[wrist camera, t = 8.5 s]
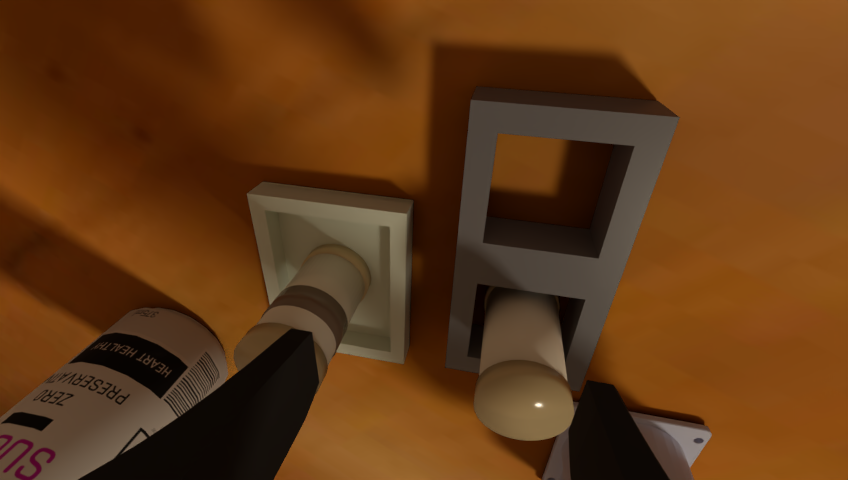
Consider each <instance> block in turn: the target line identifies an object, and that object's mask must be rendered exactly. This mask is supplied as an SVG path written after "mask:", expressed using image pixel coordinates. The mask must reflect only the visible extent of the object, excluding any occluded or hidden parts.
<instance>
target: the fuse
mask: <svg viewBox="0 0 848 480" xmlns="http://www.w3.org/2000/svg"><path fill="white" fill-rule="evenodd" d="M484 308H485V321H484V331H483V341H482V351H481V361H480V371H479V377H478V379H477V382H476V387H475V396H474V410H475V413H476V415H477V417H478V418H479V419H480V421H481V422H482V423H483V424H484V425H485V426H486V427H488V428H489V429H491V430H492V431H494V432H496V433H498V434H500V435H502V436H505V437H508V438H512V439H517V440H525V441H536V440H544V439H548V438H552V437H554V436H557V435H559V434H561V433H562V432H564V431H565V430H566V429H567V428H568V427H569V426H570V424H571V422H572V419H573V417H574V406H573V399H572V392H571V388H570V385H569V384H568V381H567V374H566V366H565V358H564V350H563V343H562V335H561V327H560V320H559V310H560V304H559V296H558V295H551V294H544V293H537V292H531V291H524V290H517V289H510V288H504V287H497V286H490V285H488V286H487V288H486V292H485V301H484Z"/></svg>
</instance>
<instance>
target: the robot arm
mask: <svg viewBox="0 0 848 480" xmlns="http://www.w3.org/2000/svg"><path fill="white" fill-rule="evenodd" d="M318 385H319V376H318V369H317V362H316V355H315V348H314V341H313V334H312V332H310V331H304V330H298V329H293V328H291V329H290V330H288V331H287V332H286V333H285V334H283V335H282V336H281V337H280V338H279V339H277V340H276V341H275V342H274V343H273V344H271V345H270V346H269V347H268V348H267V349H265V350H264V351H263V352H262V353H261V354H259V355H258V356H257V357H256V358H255V359H253V360H252V361H251V362H250V363H249V364H247V365H246V366H245V367H244V368H242V369H241V370H240V371H239V372H237V373H236V374H235V375H234V376H232V377H231V378H230V379H229V380H227V381H226V382H225V383H224V384H222V385H221V386H220V387H218V388H217V389H216V390H215V391H213V392H212V393H211V394H209V395H208V396H206V397H205V398H204V399H202V400H201V401H200V402H198V403H197V404H196V405H194V406H193V407H192V408H190V409H189V410H187V411H186V412H185V413H183V414H182V415H181V416H179V417H178V418H176V419H175V420H173V421H172V422H170V423H169V424H168V425H166V426H165V427H163V428H162V429H160V430H159V431H157V432H156V433H154V434H153V435H151V436H149V437H148V438H146V439H145V440H143V441H142V442H140V443H139V444H137V445H135V446H134V447H132V448H131V449H129V450H127V451H126V452H124V453H122V454H121V455H119V456H117V457H116V458H114V459H112V460H111V461H109V462H107V463H105V464H104V465H102V466H100V467H98V468H97V469H95V470H93V471H91V472H90V473H88V474H86V475H85V476H83V477H81V478H79V479H78V480H274V478H275V476H276V474H277V472H278V470H279V468H280V466H281V464H282V463H283V461H284V459H285V457H286V455H287V453H288V451H289V449H290V447H291V445H292V444H293V442H294V440H295V438H296V436H297V434H298V432H299V430H300V428H301V426H302V424H303V422H304V420H305V418H306V416H307V413H308V411H309V408H310V406H311V403H312V401H313V398H314V396H315V393H316V390H317V388H318ZM573 406H574V417H573V419H572V422H571V424H570V426H569V427H568V428H567V429H566V430H565V431H564V432H562V433H561V434H559V435H557V437H556V440H555V443H554V445H553V448H552V451H551V454H550V457H549V460H548V462H547V465H546V468H545V471H544V474H543V477H542V480H694V478H693V476H692V473H691V470H690V467H691V465H692V464H693V462H694V461H695V459H696V458H697V456H698V455H699V453H700V452H701V451H702V449H703V448H704V446H705V445H706V443H707V442H708V440H709V439H710V437H711V435H712V434H711V432H710V430H709V428H708V427H707V426H705V425H701V424H695V423H690V422H685V421H679V420H674V419H668V418H663V417H657V416H652V415H646V414H641V413H635V412H630V411H628V409H627V407H626V405H625V404H624V402H623V400H622V398H621V397H620V395H619V393H618V391H617V389H616V388H615V387H614V385H612V384H606V383H600V382H594V381H589V380H587V382H586V384H585V387H584V390H583V393H582V395H581V398H580V401H579V402H573Z"/></svg>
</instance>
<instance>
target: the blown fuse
mask: <svg viewBox="0 0 848 480" xmlns="http://www.w3.org/2000/svg"><path fill="white" fill-rule="evenodd" d="M370 284H371V273H370V270H369V267H368V265H367V264H366V262H365V261H364V259H363V258H362V257H361V256H360V255H359V254H357V253H356V252H355V251H353V250H351V249H350V248H347V247H345V246H342V245H338V244H324V245H321V246H318V247H316V248H315V249H313V250H312V251H311V253H310V254H309V255H308V256H307V258H306V259H305V260H304V261H303V263H302V265H301V268H300V270H299V271H298V272H297V273H296V275H295V276H294V277H293V279H292V280H291V281H290V282H289V284H288V285H287V286H286V287H285V289H284V290H282V291H281V292H280V293H279V295H278V296H277V297H276V298H275V300H274V301H273V302H272V304H271V305H270V306H269V307H268V309H267V310H266V311H265V312H264V314H263V315H262V318H261V319H260V321H259V322H258V323H257V325H255V326H254V327H252V328H251V329H250V330H249V331H248V332H247V333H246V335H245V336H244V337H243V338H242V340H241V341H240V342H239V343H238V345H237V346H236V348H235V350H234V361H235V364H236V367H237V369H238V370H239V371H240V370H241V369H242V368H244V367H245V366H246V365H247V364H249V363H250V362H251V361H252V360H253V359H255V358H256V357H257V356H258V355H259V354H261V353H262V352H263V351H264V350H265V349H267V348H268V347H269V346H270V345H271V344H273V343H274V342H275V341H276V340H277V339H279V338H280V337H281V336H282V335H283V334H285V333H286V332H287V331H288V330H290V329H291V328H293V329H298V330H304V331H310V332H312V334H313V341H314V348H315V355H316V362H317V369H318V376H319V385H318V388H317V390H316V393H317V391H318V389H319V387H320V385H321V383H322V381H323V379H324V377H325V375H326V373H327V369H328V364H329V362H330V360H331V358H332V357H333V356H334V355H335V353H336V351H337V349H338V347H339V345H340V343H341V341H342V339H343V337H344V335H345V333H346V331H347V327H348V325H349V323H350V321H351V319H352V317H353V315H354V313H355V311H356V309H357V307H358V305H359V303H360V302H361V301H362V300H363V299H364V297H365V295H366V293H367V291H368V289H369V287H370ZM316 393H315V394H316Z"/></svg>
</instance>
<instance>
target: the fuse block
mask: <svg viewBox="0 0 848 480" xmlns="http://www.w3.org/2000/svg"><path fill="white" fill-rule="evenodd" d="M679 118H680V117H678V116H677V115H676V114H674V113H673V112H672V111H671V110H669V109H668V108H667V107H665V106H664V105H663V104H661V103H660V102H659V101H654V100H642V99H629V98H617V97H604V96H591V95H579V94H566V93H554V92H541V91H528V90H516V89H503V88H491V87H478V86H477V87H476V89H475V91H474V94H473V96H472V98H471V103H470V114H469V124H468V134H467V145H466V155H465V166H464V176H463V186H462V197H461V207H460V217H459V228H458V238H457V249H456V259H455V269H454V280H453V290H452V300H451V311H450V321H449V332H448V342H447V352H446V363H445V368H451V369H457V370H462V371H468V372H473V373H479V371H480V361H481V351H482V341H483V331H484V326H481V325H475V324H472V318H473V311H474V304H475V296H476V289H477V284H483V285H490V286H497V287H504V288H510V289H517V290H524V291H531V292H537V293H544V294H551V295H558V296H564V297H570V298H569V302H568V305H567V308H566V312H565V315H564V319H563V322H562V326H561V335H562V343H563V350H564V358H565V366H566V374H567V381H568V384H569V385H570V388H571V390H573V391H580V389H581V386H582V383H583V380H584V378H585V375H586V372H587V369H588V367H589V364H590V361H591V358H592V356H593V353H594V350H595V348H596V345H597V342H598V339H599V337H600V334H601V331H602V328H603V326H604V323H605V320H606V317H607V315H608V312H609V309H610V306H611V304H612V301H613V298H614V296H615V293H616V290H617V287H618V285H619V282H620V279H621V276H622V274H623V271H624V268H625V265H626V263H627V260H628V257H629V254H630V252H631V249H632V246H633V244H634V241H635V238H636V235H637V233H638V230H639V227H640V224H641V222H642V219H643V216H644V213H645V211H646V208H647V205H648V202H649V200H650V197H651V194H652V191H653V189H654V186H655V183H656V181H657V178H658V175H659V172H660V170H661V167H662V164H663V161H664V159H665V156H666V153H667V150H668V148H669V145H670V142H671V139H672V137H673V134H674V131H675V129H676V126H677V123H678V120H679ZM498 133H503V134H513V135H524V136H534V137H545V138H555V139H566V140H576V141H587V142H597V143H608V144H614V148H613V151H612V154H611V158H610V161H609V165H608V168H607V171H606V175H605V178H604V182H603V185H602V189H601V192H600V195H599V199H598V202H597V206H596V209H595V213H594V216H593V219H592V223H591V226H590V229H584V228H576V227H568V226H560V225H552V224H544V223H536V222H528V221H520V220H512V219H504V218H496V217H488V216H486V215H487V208H488V200H489V193H490V185H491V178H492V171H493V163H494V156H495V149H496V141H497V134H498Z"/></svg>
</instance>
